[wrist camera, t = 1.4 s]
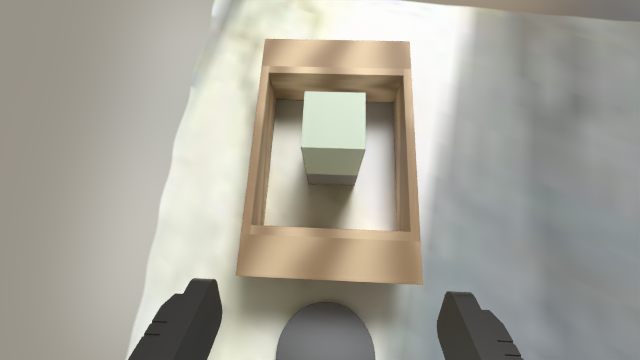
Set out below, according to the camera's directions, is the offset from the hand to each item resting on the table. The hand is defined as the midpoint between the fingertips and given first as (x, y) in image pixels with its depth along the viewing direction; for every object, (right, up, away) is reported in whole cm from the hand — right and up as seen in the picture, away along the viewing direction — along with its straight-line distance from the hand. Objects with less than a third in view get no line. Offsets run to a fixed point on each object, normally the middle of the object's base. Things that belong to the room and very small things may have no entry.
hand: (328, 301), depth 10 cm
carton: (+1, +6, +23) cm, 23 cm away
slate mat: (0, -12, +17) cm, 21 cm away
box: (+1, +6, +23) cm, 23 cm away
